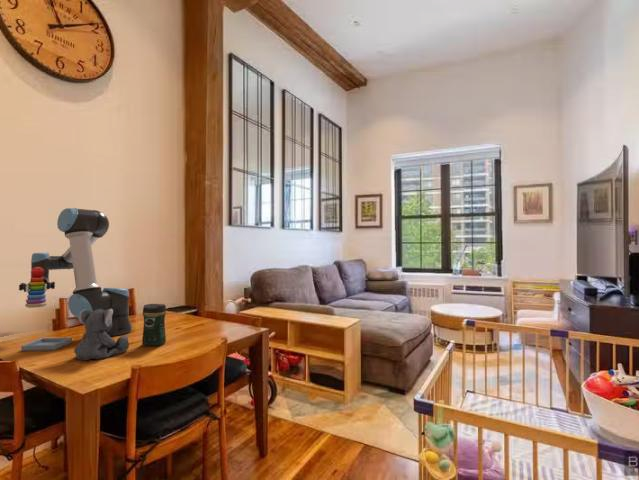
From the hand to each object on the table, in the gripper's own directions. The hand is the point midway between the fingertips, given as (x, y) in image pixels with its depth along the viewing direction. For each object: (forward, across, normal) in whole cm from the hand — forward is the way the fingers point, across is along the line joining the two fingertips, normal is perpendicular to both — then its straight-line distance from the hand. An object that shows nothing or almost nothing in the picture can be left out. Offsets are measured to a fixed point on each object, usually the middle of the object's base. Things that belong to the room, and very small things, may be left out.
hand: (36, 288), depth 164 cm
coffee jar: (+32, -44, -25) cm, 60 cm away
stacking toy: (-5, 0, -9) cm, 10 cm away
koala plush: (+36, -22, -25) cm, 50 cm away
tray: (+10, -5, -25) cm, 27 cm away
